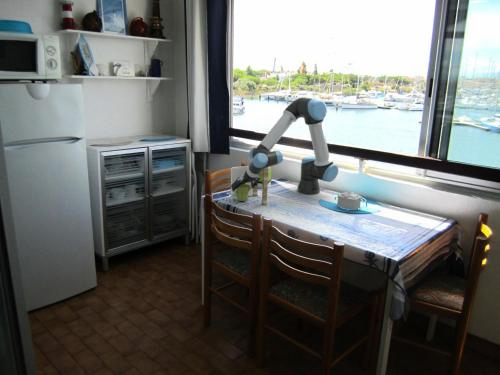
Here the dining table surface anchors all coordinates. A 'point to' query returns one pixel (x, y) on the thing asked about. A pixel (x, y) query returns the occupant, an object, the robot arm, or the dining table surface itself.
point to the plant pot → (242, 192)
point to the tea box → (262, 178)
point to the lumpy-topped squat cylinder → (349, 200)
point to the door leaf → (240, 172)
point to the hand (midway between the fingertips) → (240, 192)
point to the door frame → (264, 187)
